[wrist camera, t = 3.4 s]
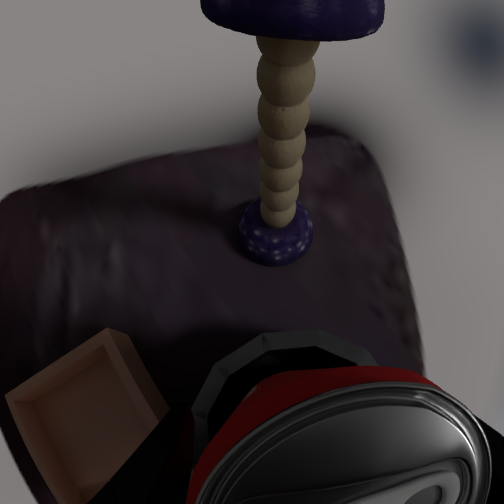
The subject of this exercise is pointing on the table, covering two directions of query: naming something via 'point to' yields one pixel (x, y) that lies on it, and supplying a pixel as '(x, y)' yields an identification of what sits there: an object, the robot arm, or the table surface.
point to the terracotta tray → (87, 415)
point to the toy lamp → (286, 106)
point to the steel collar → (253, 351)
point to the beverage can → (346, 443)
